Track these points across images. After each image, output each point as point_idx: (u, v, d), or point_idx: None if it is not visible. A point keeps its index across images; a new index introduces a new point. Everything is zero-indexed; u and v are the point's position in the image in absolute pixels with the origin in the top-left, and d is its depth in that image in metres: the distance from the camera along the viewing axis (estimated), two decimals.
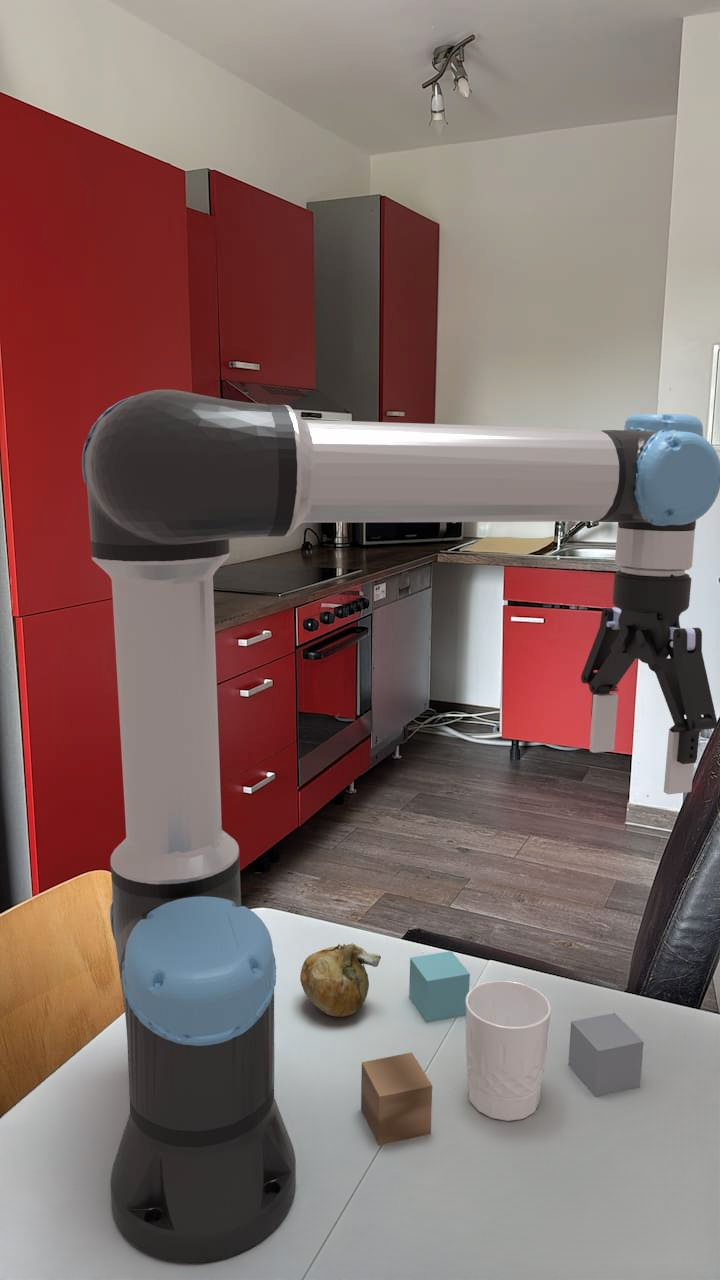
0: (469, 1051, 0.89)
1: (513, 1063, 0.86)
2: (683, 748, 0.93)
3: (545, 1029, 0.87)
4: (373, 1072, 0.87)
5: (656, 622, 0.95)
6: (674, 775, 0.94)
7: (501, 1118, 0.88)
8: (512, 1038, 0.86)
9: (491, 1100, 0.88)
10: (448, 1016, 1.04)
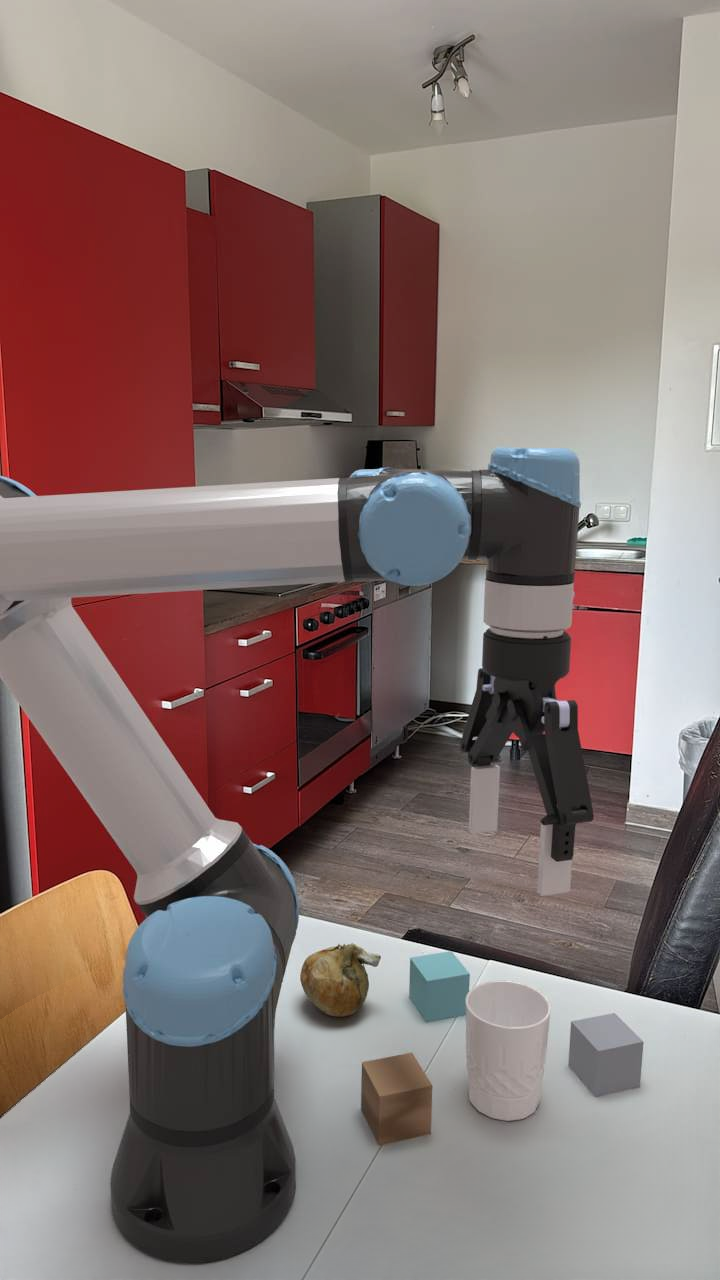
0: (469, 1051, 0.89)
1: (513, 1063, 0.86)
2: (556, 843, 0.78)
3: (545, 1029, 0.87)
4: (373, 1072, 0.87)
5: (528, 692, 0.81)
6: (548, 873, 0.79)
7: (501, 1118, 0.88)
8: (512, 1038, 0.86)
9: (491, 1100, 0.88)
10: (448, 1016, 1.04)
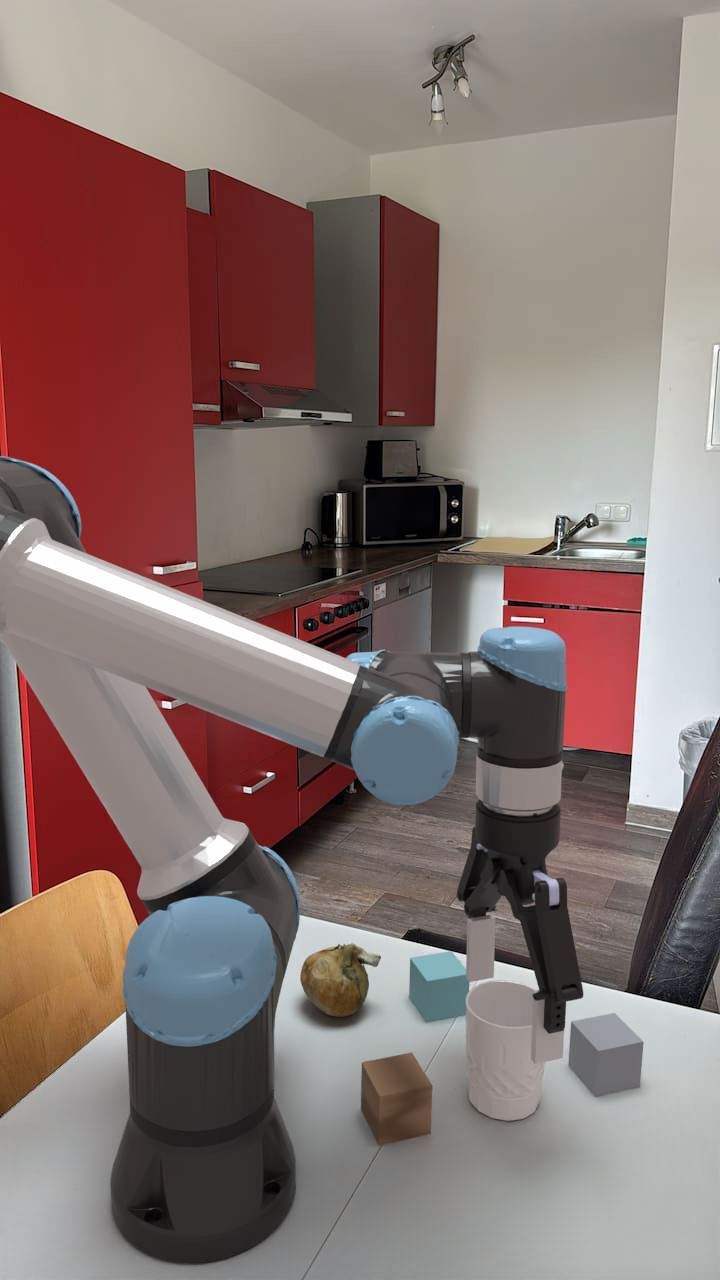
0: (469, 1051, 0.89)
1: (513, 1063, 0.86)
2: (548, 1016, 0.81)
3: None
4: (373, 1072, 0.87)
5: (519, 865, 0.83)
6: (541, 1043, 0.82)
7: (501, 1118, 0.88)
8: (512, 1038, 0.86)
9: (491, 1100, 0.88)
10: (448, 1016, 1.04)
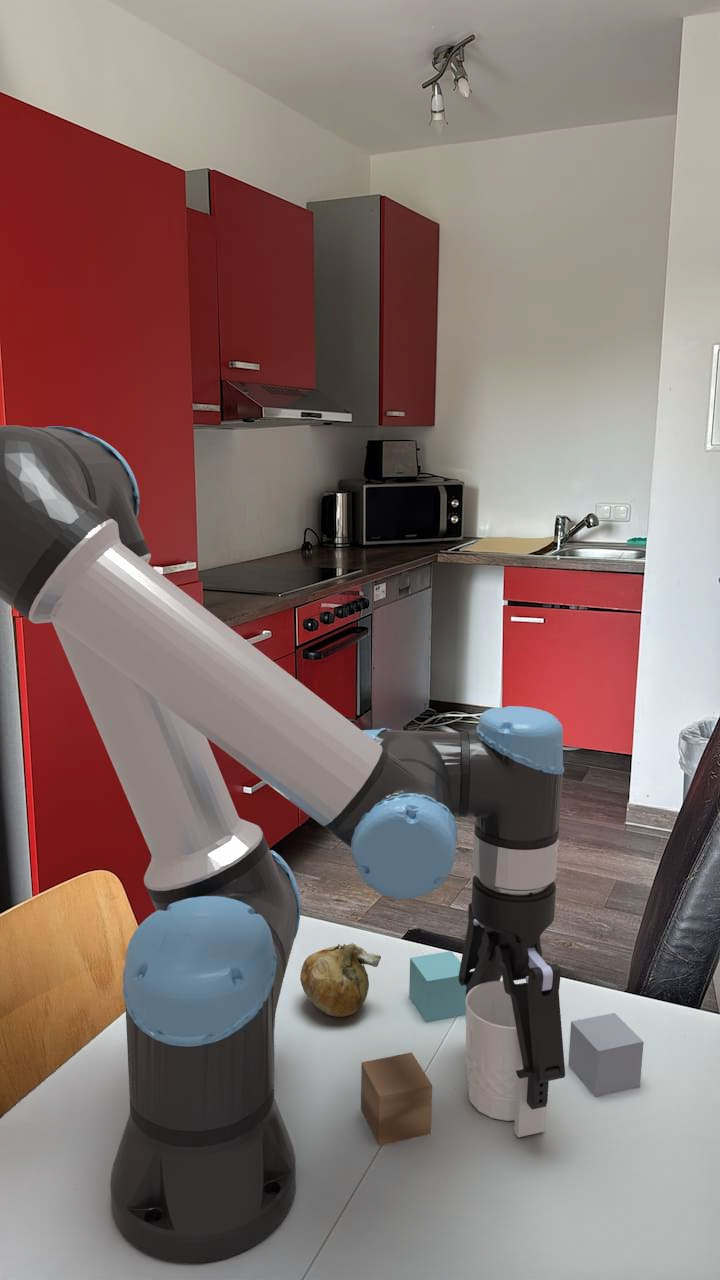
0: (469, 1051, 0.89)
1: (513, 1063, 0.86)
2: (531, 1093, 0.84)
3: None
4: (373, 1072, 0.87)
5: (516, 943, 0.85)
6: (524, 1117, 0.85)
7: (501, 1118, 0.88)
8: (512, 1038, 0.86)
9: (491, 1100, 0.88)
10: (448, 1016, 1.04)
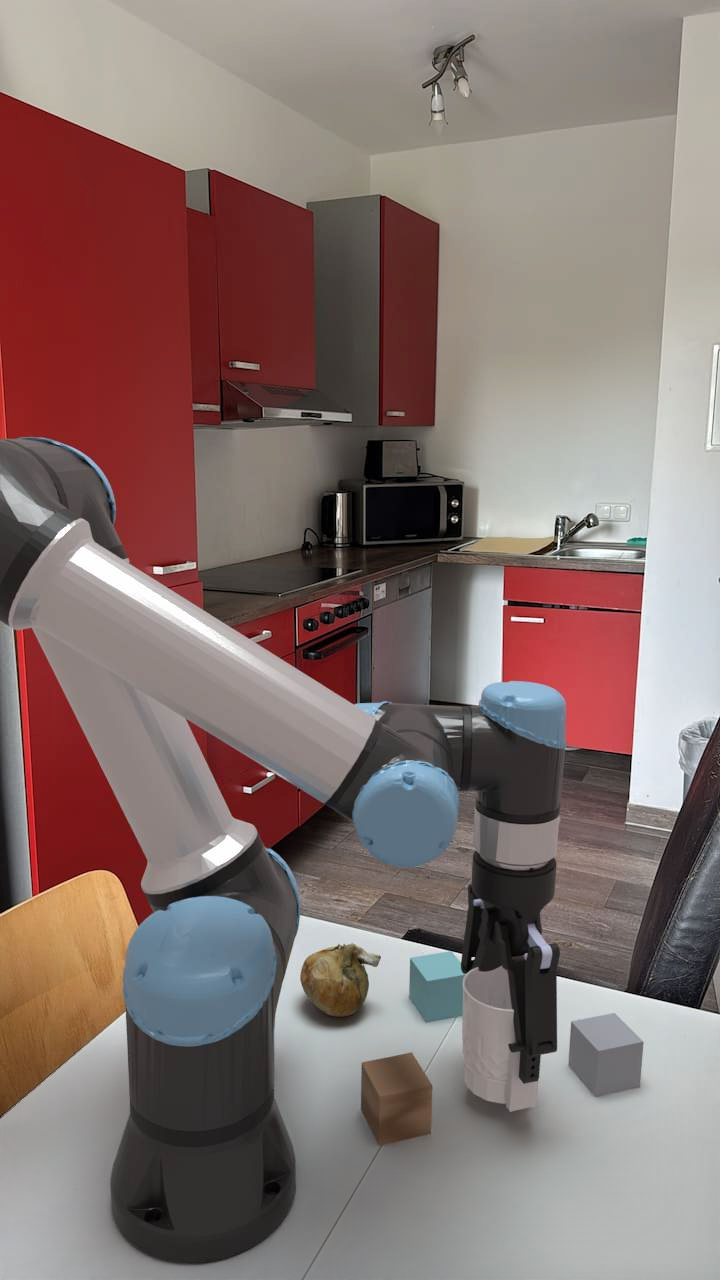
0: (465, 1033, 0.89)
1: None
2: (523, 1067, 0.85)
3: None
4: (373, 1073, 0.87)
5: (516, 919, 0.84)
6: (516, 1091, 0.86)
7: (496, 1101, 0.88)
8: (509, 1020, 0.85)
9: (486, 1083, 0.88)
10: (448, 1016, 1.04)
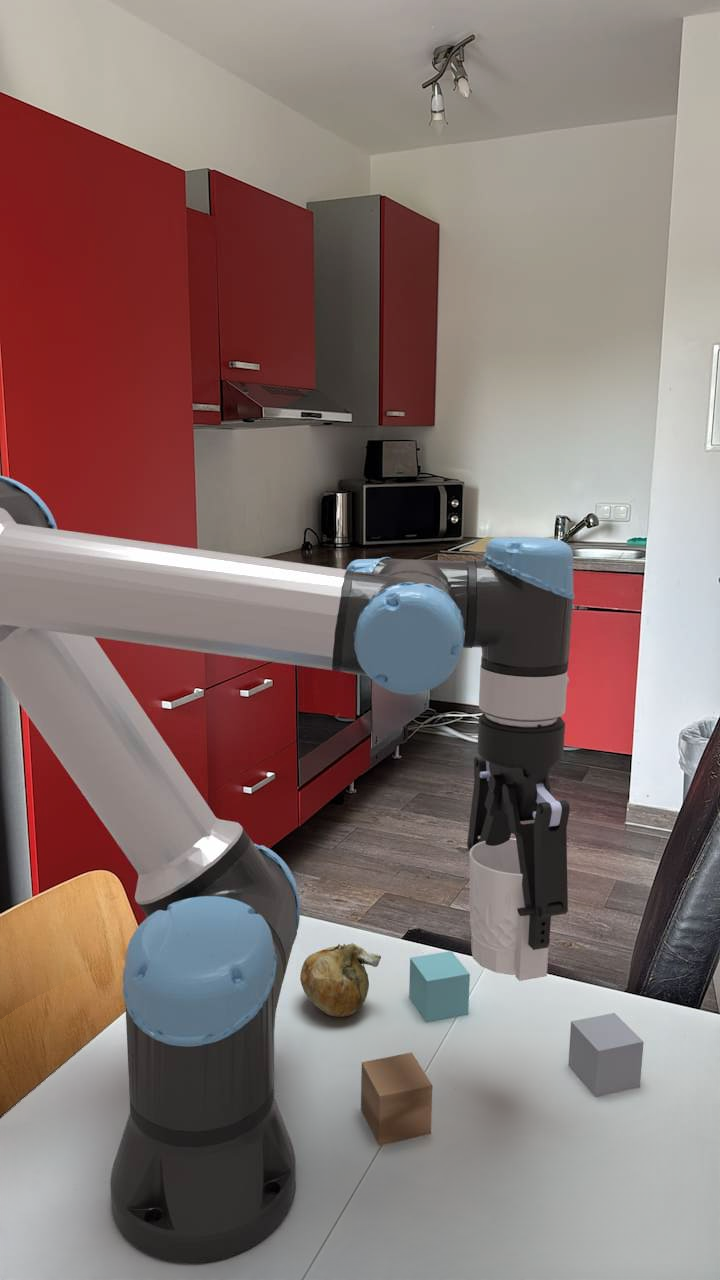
0: (473, 904, 0.86)
1: None
2: (533, 932, 0.82)
3: None
4: (373, 1072, 0.87)
5: (524, 779, 0.82)
6: (526, 960, 0.84)
7: (506, 972, 0.85)
8: (518, 885, 0.83)
9: (495, 954, 0.85)
10: (448, 1016, 1.04)
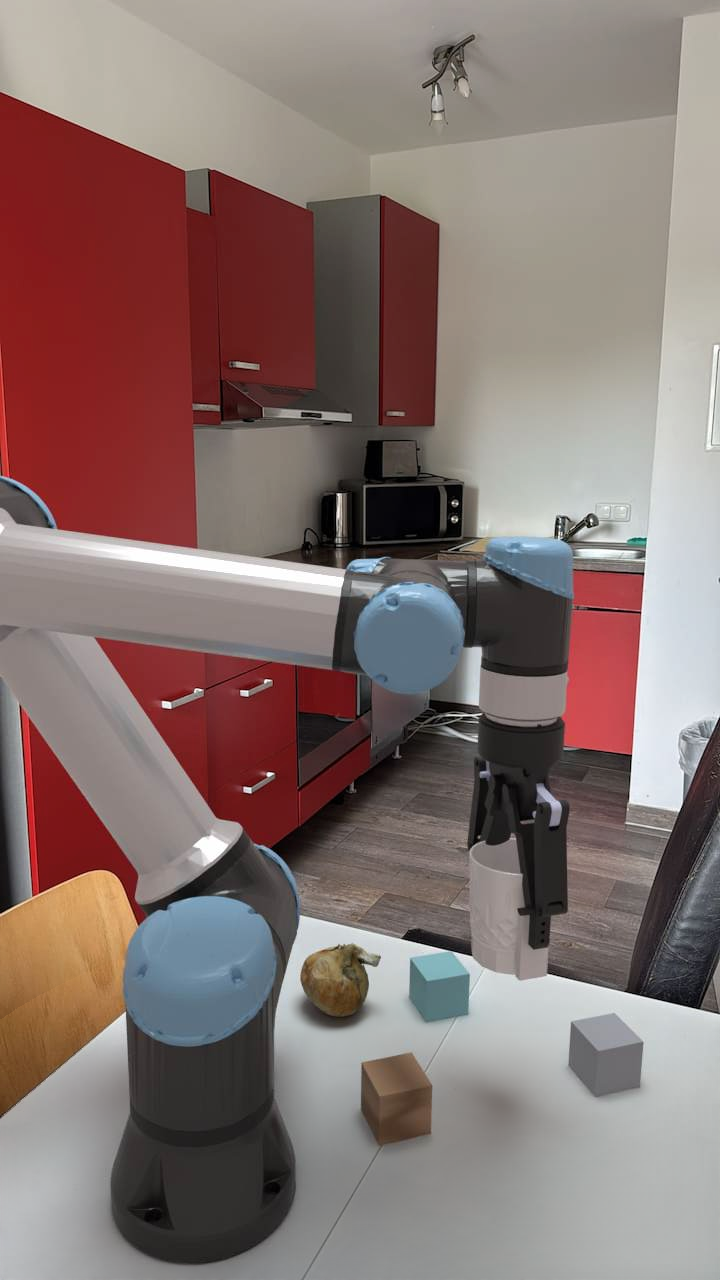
0: (473, 904, 0.86)
1: None
2: (533, 932, 0.82)
3: None
4: (373, 1072, 0.87)
5: (524, 778, 0.82)
6: (526, 960, 0.84)
7: (506, 972, 0.85)
8: (518, 885, 0.83)
9: (495, 953, 0.85)
10: (448, 1016, 1.04)
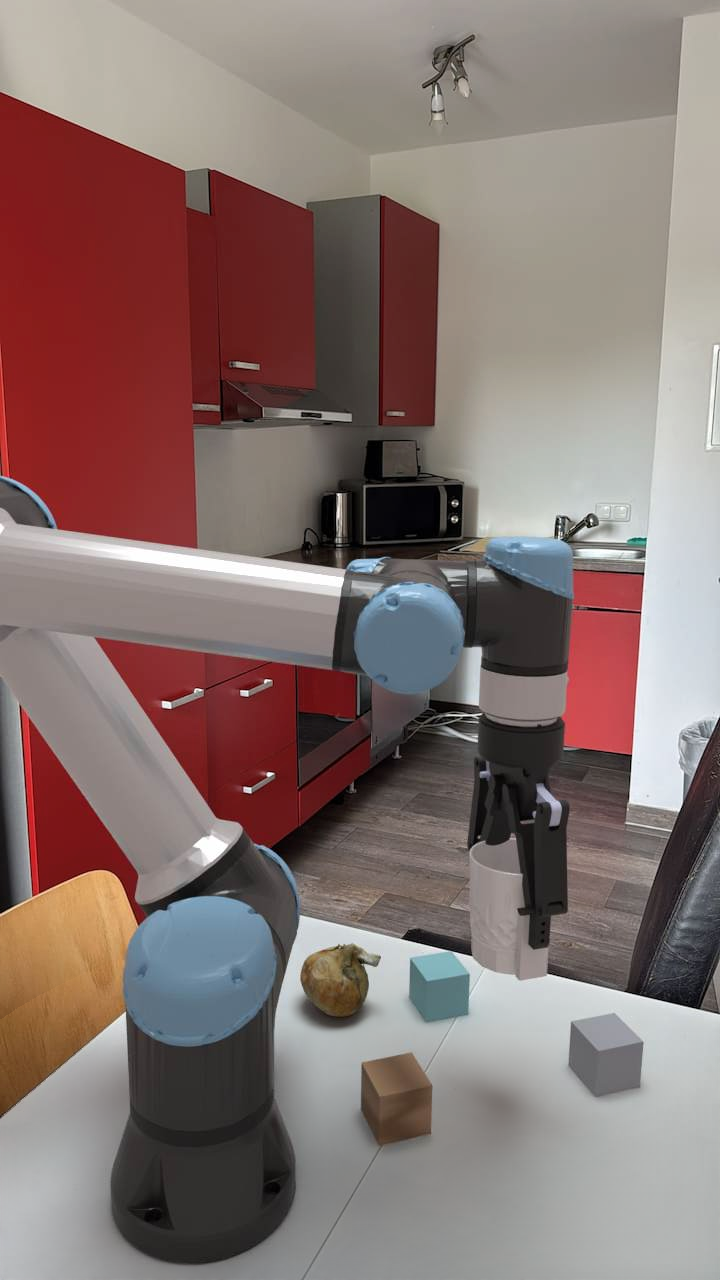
0: (473, 904, 0.86)
1: None
2: (533, 932, 0.82)
3: None
4: (373, 1073, 0.87)
5: (524, 778, 0.82)
6: (526, 960, 0.84)
7: (506, 972, 0.85)
8: (518, 885, 0.83)
9: (495, 953, 0.85)
10: (448, 1016, 1.04)
